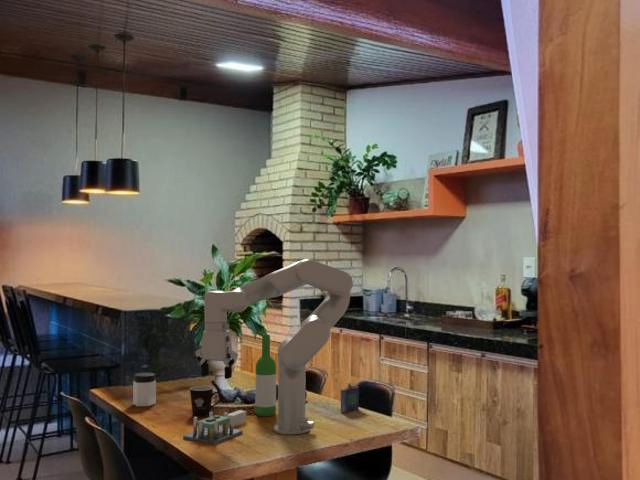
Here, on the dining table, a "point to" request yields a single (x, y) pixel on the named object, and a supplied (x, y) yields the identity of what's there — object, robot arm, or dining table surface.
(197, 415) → the coffee mug
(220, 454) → the dining table surface
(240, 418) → the stand
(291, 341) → the robot arm
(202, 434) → the vial rack
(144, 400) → the jar
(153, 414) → the dining table surface
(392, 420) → the dining table surface
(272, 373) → the wine bottle
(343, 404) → the flask
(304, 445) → the dining table surface
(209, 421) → the board
